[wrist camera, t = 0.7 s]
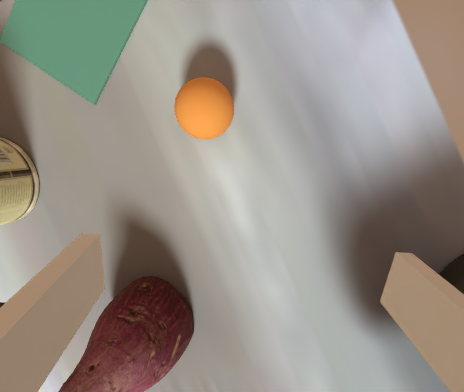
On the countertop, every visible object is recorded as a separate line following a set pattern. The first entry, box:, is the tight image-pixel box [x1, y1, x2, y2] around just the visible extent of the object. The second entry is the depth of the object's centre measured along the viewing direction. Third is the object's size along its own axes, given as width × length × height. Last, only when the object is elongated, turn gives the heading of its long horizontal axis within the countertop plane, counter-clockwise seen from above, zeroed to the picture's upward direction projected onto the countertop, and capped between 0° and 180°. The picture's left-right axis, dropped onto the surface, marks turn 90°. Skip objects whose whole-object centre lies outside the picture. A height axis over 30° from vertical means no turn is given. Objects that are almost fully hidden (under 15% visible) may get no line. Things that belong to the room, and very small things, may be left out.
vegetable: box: [59, 277, 194, 392], centre depth 27 cm, size 10×10×15 cm
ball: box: [175, 77, 234, 139], centre depth 25 cm, size 6×6×6 cm
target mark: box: [0, 0, 147, 105], centre depth 27 cm, size 12×12×1 cm
